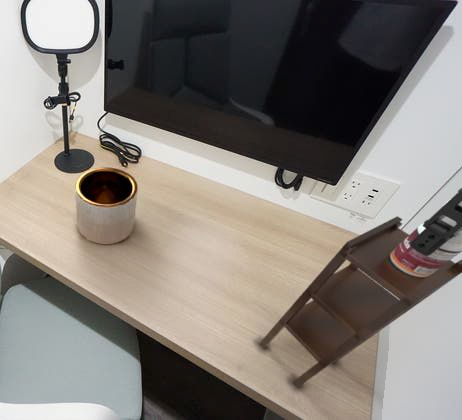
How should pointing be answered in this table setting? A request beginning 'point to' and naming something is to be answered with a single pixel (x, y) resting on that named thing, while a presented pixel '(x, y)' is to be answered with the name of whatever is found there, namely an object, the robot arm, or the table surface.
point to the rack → (356, 297)
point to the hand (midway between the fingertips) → (438, 239)
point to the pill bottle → (422, 264)
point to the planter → (105, 204)
